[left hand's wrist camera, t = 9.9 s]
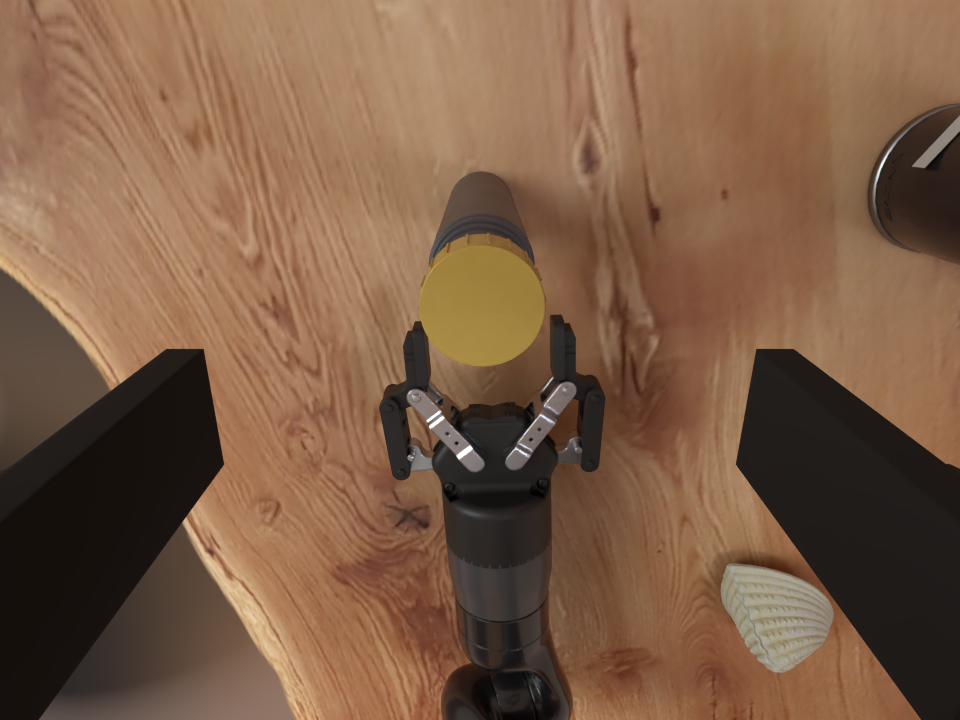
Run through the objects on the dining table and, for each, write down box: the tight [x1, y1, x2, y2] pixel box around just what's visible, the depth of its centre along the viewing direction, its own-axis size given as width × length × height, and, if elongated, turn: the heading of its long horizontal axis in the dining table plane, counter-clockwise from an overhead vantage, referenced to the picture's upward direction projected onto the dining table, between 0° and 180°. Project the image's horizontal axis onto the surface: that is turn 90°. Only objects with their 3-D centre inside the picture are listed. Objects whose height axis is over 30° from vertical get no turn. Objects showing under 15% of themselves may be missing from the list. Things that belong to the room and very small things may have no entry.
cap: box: [419, 233, 546, 367], centre depth 21 cm, size 4×4×2 cm
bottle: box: [429, 172, 535, 266], centre depth 31 cm, size 4×4×23 cm
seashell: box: [720, 563, 834, 673], centre depth 52 cm, size 8×8×8 cm
